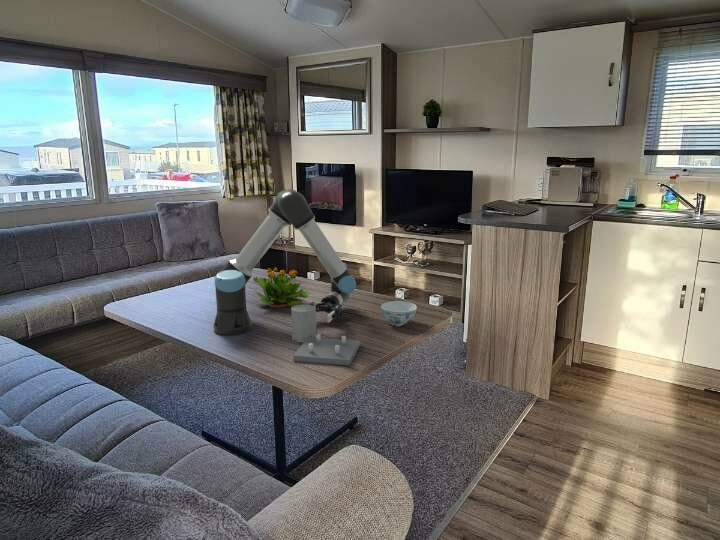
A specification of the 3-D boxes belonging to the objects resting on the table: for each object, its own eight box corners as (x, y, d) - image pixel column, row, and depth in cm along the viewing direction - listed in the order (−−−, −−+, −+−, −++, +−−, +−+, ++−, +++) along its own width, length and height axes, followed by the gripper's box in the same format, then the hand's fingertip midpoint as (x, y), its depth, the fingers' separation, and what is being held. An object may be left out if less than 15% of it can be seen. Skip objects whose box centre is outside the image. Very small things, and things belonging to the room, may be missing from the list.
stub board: (293, 360, 172) (292, 347, 171) (308, 342, 189) (308, 329, 188) (349, 365, 168) (349, 351, 167) (359, 346, 185) (359, 333, 184)
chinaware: (373, 323, 210) (373, 306, 208) (396, 315, 220) (397, 299, 218) (400, 332, 199) (400, 314, 198) (423, 323, 210) (424, 306, 208)
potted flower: (275, 316, 219) (273, 278, 215) (240, 306, 233) (238, 270, 229) (313, 303, 238) (312, 268, 235) (279, 295, 252) (277, 261, 248)
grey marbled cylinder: (293, 343, 188) (292, 312, 185) (290, 334, 197) (289, 305, 194) (318, 341, 190) (318, 310, 187) (314, 332, 199) (313, 303, 196)
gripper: (358, 313, 215) (341, 329, 195) (305, 308, 222) (284, 323, 203) (358, 297, 213) (341, 311, 193) (305, 292, 220) (283, 305, 201)
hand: (312, 317), depth 198 cm, fingers open, 13 cm apart
